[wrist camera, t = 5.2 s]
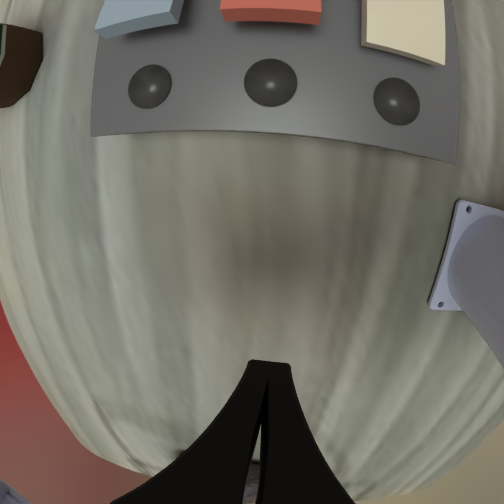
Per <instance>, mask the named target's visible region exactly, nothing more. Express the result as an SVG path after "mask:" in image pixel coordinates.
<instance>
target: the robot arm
mask: <svg viewBox="0 0 504 504" xmlns="http://www.w3.org/2000/svg"><path fill="white" fill-rule="evenodd" d="M468 206H469V210H468V211H467V212H466V208H467V207H468ZM440 302H441V304H439V303H440ZM438 304H439V305H438ZM428 306H429V307H430V309H431V310H451V311H463V312H464V313H465V314H466V316H467V317H468V318H469V319H470V321H471V322H472V323H473V325H474V326H475V328H476V329H477V330H478V332H479V333H480V334H481V336H482V337H483V339H484V340H485V341H486V343H487V344H488V346H489V347H490V349H491V350H492V352H493V353H494V355H495V356H496V358H497V359H498V361H499V362H500V364H501V365H502V367H503V368H504V211H503V210H500V209H496V208H493V207H489V206H486V205H482V204H478V203H474V202H470V201H467V200H463V199H462V200H459V201H458V202H457V203H456V205H455V210H454V215H453V220H452V224H451V228H450V233H449V237H448V240H447V244H446V248H445V252H444V255H443V259H442V262H441V266H440V269H439V272H438V275H437V278H436V281H435V284H434V287H433V290H432V293H431V296H430V299H429V302H428ZM260 426H261V445H260V472H259V484H258V490H257V497H256V503H255V504H355V503H354V501H353V500H352V499H351V498H350V496H349V495H348V494H347V492H346V491H345V489H344V488H343V487H342V485H341V484H340V482H339V481H338V480H337V478H336V477H335V475H334V474H333V472H332V470H331V469H330V467H329V466H328V464H327V462H326V461H325V459H324V457H323V455H322V453H321V452H320V450H319V448H318V446H317V444H316V442H315V440H314V438H313V435H312V433H311V431H310V429H309V426H308V424H307V422H306V419H305V417H304V414H303V411H302V408H301V406H300V403H299V400H298V397H297V393H296V390H295V386H294V382H293V378H292V373H291V366H290V365H289V364H288V363H280V362H270V361H261V360H253V359H252V360H250V361H248V364H247V367H246V369H245V372H244V374H243V376H242V378H241V380H240V382H239V383H238V385H237V387H236V389H235V390H234V392H233V393H232V395H231V396H230V398H229V400H228V401H227V403H226V404H225V406H224V407H223V408H222V410H221V411H220V412H219V414H218V415H217V416H216V417H215V419H214V420H213V421H212V423H211V424H210V425H209V426H208V427H207V429H206V430H205V431H204V432H203V433H202V434H201V435H200V436H199V438H198V439H197V440H196V441H195V442H194V443H193V444H192V445H191V446H190V447H189V448H188V449H187V450H185V451H184V452H183V453H182V454H181V455H180V456H179V457H178V458H177V459H176V460H174V461H173V462H172V463H171V464H170V465H168V466H167V467H166V468H165V469H163V470H162V471H160V472H159V473H158V474H156V475H155V476H154V477H152V478H151V479H149V480H148V481H147V482H145V483H144V484H142V485H141V486H139V487H137V488H136V489H134V490H132V491H130V492H129V493H127V494H125V495H123V496H121V497H119V498H118V499H116V500H114V501H112V502H111V503H110V504H242V502H243V497H244V491H245V485H246V480H247V476H248V471H249V468H250V464H251V460H252V457H253V453H254V449H255V445H256V441H257V438H258V434H259V430H260ZM0 504H31V503H30V501H29V500H28V499H26V498H25V497H24V496H22V495H21V494H20V493H19V492H17V491H16V490H15V489H14V488H12V487H11V486H10V485H8V484H7V483H6V482H5V481H3V480H1V479H0Z"/></svg>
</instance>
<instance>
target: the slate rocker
mask: <svg viewBox="0 0 504 504" xmlns="http://www.w3.org/2000/svg"><path fill="white" fill-rule="evenodd" d="M183 2H184V0H105V2H104V5H103V7H102V10H101V12H100V15H99V17H98V20H97V23H96V26H95V29H94V31H95V32H97V33H98V34H99V35H101V36H102V37H103V38H105V39H107V38H111V37H114V36H118V35H122V34H126V33H130V32H134V31H139V30H143V29H148V28H153V27H159V26H165V25H171V24H178V22H179V18H180V14H181V10H182V6H183Z"/></svg>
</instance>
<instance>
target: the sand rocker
mask: <svg viewBox="0 0 504 504" xmlns="http://www.w3.org/2000/svg"><path fill="white" fill-rule="evenodd" d="M361 46H365V47H370V48H374V49H379V50H383V51H387V52H391V53H394V54H398V55H401V56H405V57H408V58H412V59H415V60H418V61H421V62H424V63H427V64H430V65H433V66H444V65H445V12H444V0H362V26H361Z"/></svg>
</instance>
